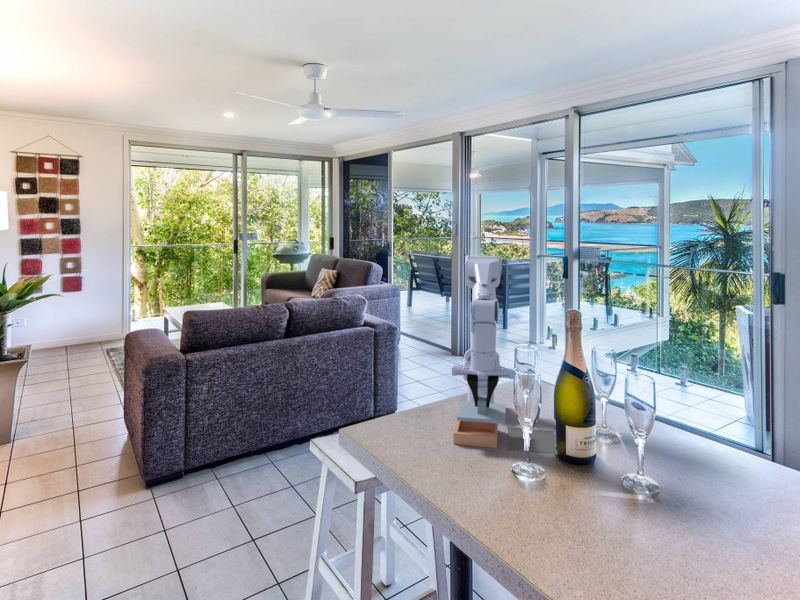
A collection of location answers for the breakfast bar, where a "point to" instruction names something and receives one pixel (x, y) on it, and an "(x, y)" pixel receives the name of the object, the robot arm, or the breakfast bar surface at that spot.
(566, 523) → the breakfast bar surface
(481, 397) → the lid
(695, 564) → the breakfast bar surface
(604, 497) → the breakfast bar surface
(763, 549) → the breakfast bar surface
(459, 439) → the square open tray
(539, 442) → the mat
